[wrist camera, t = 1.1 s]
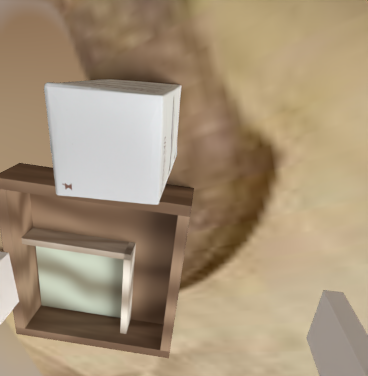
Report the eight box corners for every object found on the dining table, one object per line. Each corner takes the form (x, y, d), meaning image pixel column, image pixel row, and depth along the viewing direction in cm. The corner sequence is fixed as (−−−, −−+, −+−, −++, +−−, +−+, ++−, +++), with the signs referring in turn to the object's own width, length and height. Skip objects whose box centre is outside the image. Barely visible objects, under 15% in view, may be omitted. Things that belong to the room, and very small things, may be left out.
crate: (19, 163, 32) (-8, 177, 28) (193, 188, 32) (191, 206, 28) (35, 306, 41) (16, 333, 37) (172, 328, 41) (168, 358, 36)
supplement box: (178, 156, 31) (159, 210, 19) (110, 148, 31) (51, 197, 19) (184, 83, 28) (166, 94, 16) (109, 76, 28) (38, 81, 16)
